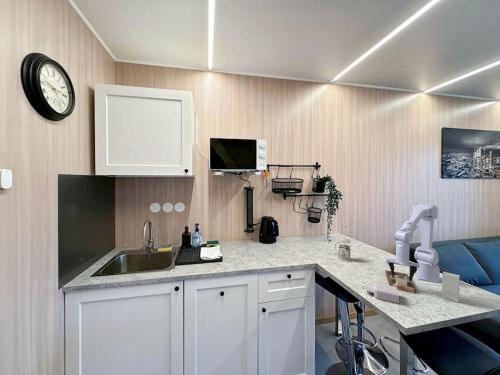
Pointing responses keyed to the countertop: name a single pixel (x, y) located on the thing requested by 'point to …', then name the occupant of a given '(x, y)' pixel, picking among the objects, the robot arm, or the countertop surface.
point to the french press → (341, 256)
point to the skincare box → (450, 286)
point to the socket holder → (403, 288)
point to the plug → (401, 280)
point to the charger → (384, 292)
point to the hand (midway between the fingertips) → (401, 278)
